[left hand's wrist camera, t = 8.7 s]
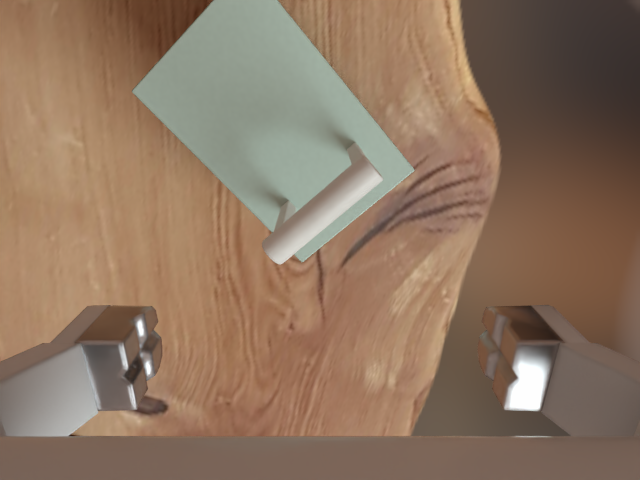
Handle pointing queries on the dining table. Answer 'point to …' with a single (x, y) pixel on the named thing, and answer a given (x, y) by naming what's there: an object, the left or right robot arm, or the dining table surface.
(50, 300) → the dining table surface
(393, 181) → the lid
